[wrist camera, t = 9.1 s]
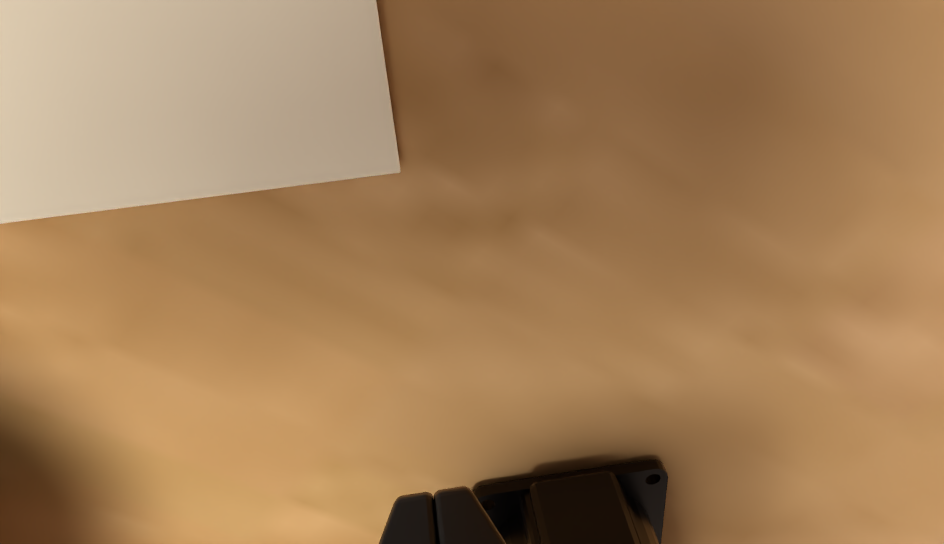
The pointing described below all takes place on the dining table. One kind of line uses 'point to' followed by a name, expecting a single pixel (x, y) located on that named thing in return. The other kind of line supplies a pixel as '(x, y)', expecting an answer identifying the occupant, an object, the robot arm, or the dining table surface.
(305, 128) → the mat
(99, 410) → the dining table surface
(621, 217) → the dining table surface
